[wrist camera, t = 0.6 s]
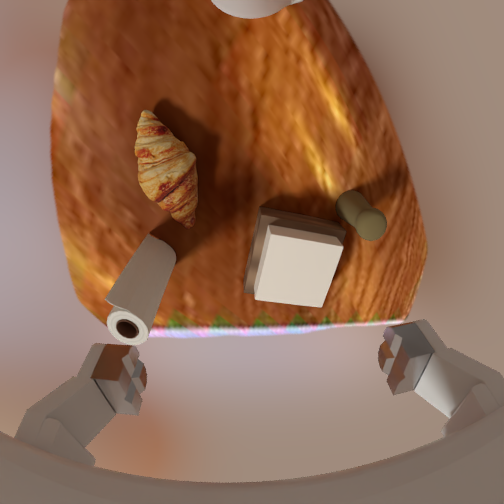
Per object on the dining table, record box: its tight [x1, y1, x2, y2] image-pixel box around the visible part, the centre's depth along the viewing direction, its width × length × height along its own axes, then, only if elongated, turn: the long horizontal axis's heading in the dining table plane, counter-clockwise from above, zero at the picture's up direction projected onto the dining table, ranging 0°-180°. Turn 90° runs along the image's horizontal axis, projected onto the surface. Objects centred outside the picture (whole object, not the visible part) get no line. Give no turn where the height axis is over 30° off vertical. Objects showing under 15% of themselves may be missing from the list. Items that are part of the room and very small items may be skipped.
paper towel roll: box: [105, 234, 176, 345], centre depth 44 cm, size 7×6×21 cm
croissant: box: [135, 110, 198, 229], centre depth 43 cm, size 21×10×8 cm
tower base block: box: [244, 207, 347, 294], centre depth 52 cm, size 15×15×5 cm
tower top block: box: [254, 225, 343, 307], centre depth 48 cm, size 12×12×4 cm
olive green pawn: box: [336, 190, 387, 241], centre depth 46 cm, size 6×6×11 cm
